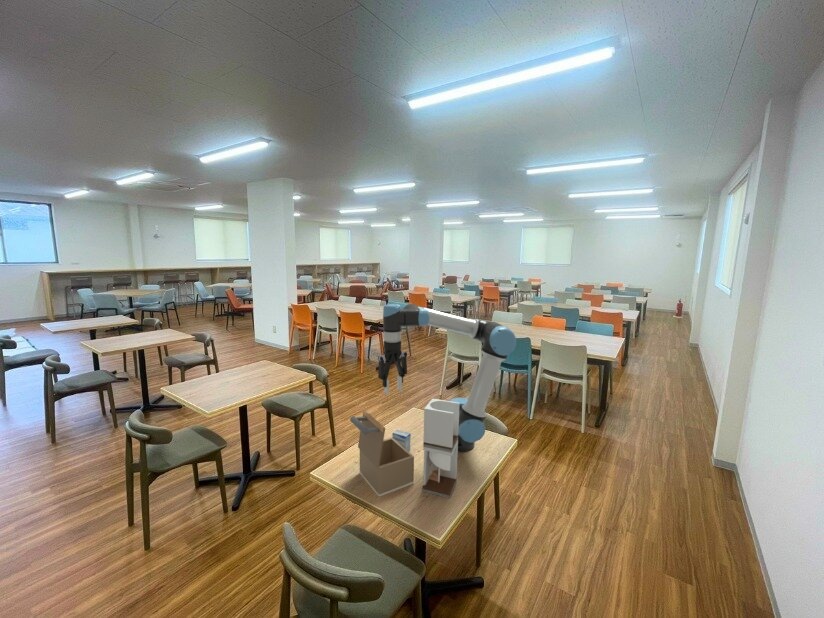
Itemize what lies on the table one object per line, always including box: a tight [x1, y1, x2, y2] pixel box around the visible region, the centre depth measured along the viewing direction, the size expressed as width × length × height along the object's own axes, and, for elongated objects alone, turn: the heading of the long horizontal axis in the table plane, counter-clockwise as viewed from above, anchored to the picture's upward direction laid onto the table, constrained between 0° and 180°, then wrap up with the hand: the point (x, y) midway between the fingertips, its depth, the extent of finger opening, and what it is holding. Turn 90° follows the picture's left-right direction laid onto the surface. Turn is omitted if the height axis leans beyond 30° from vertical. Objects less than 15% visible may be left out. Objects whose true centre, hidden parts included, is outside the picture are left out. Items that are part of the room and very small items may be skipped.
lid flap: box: [349, 410, 386, 469], centre depth 143 cm, size 16×18×8 cm
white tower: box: [421, 398, 460, 499], centre depth 144 cm, size 11×11×35 cm
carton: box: [359, 437, 415, 498], centre depth 151 cm, size 16×18×12 cm
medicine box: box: [391, 429, 412, 452], centre depth 173 cm, size 8×4×9 cm, turn 62°
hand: (393, 391), depth 157 cm, fingers open, 6 cm apart
